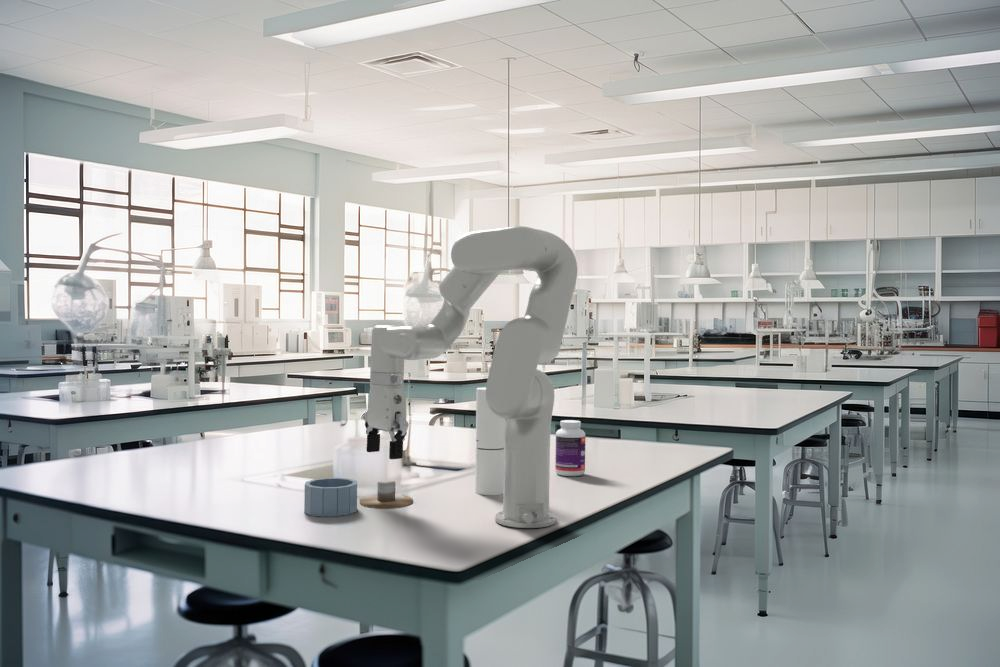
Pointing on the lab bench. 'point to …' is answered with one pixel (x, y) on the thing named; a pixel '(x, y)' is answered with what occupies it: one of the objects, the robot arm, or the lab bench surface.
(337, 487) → the bowl
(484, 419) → the cylindrical container
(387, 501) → the lid
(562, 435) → the pill bottle
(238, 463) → the lab bench surface
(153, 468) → the lab bench surface
